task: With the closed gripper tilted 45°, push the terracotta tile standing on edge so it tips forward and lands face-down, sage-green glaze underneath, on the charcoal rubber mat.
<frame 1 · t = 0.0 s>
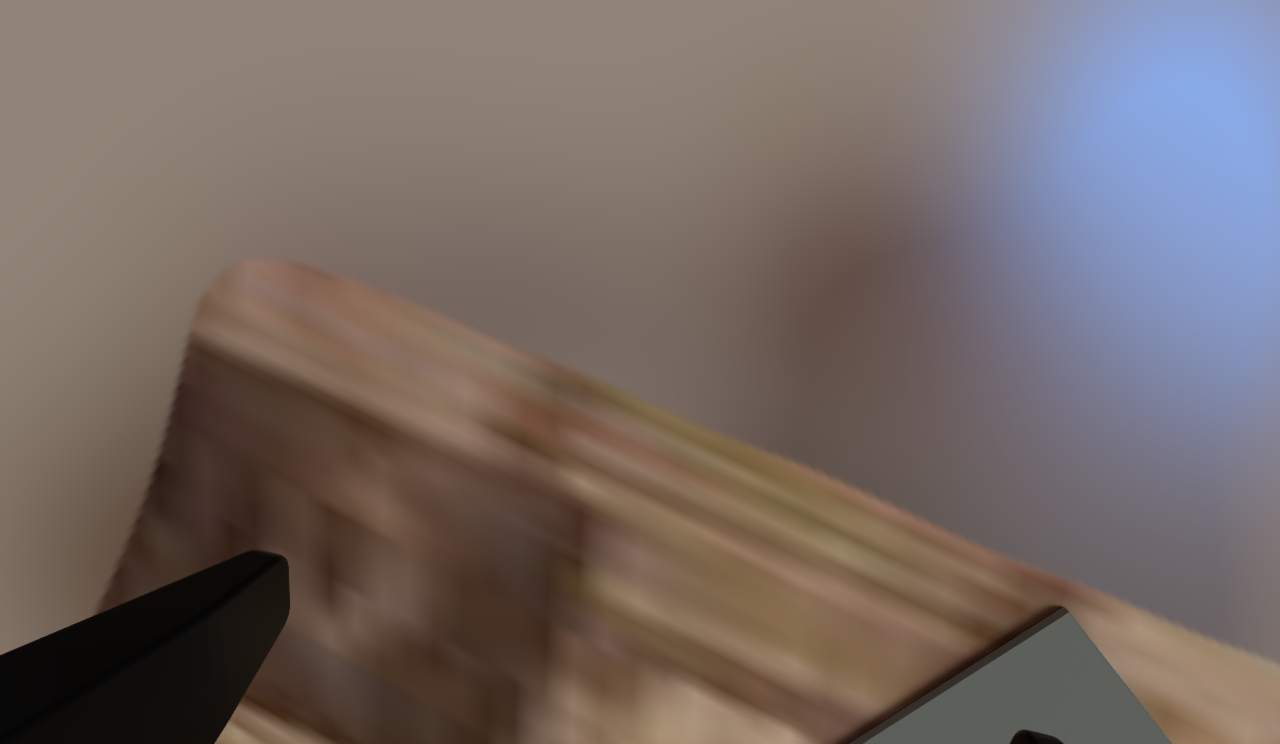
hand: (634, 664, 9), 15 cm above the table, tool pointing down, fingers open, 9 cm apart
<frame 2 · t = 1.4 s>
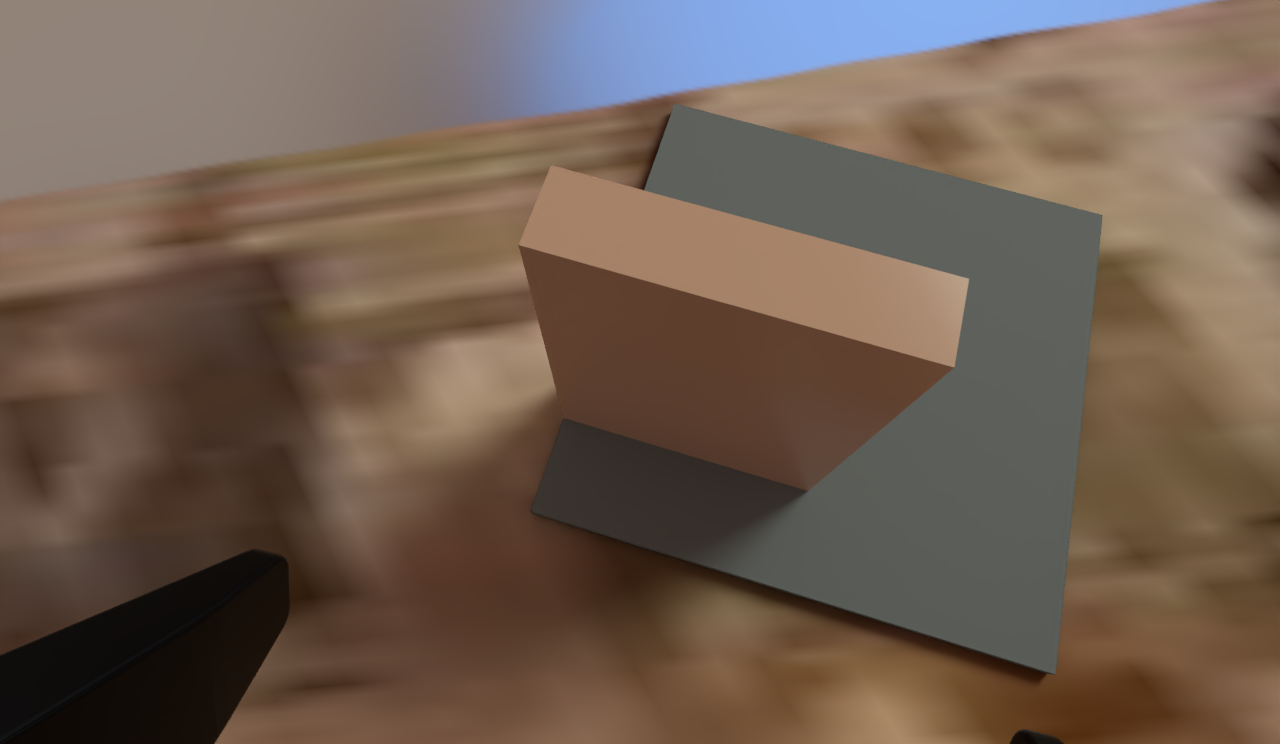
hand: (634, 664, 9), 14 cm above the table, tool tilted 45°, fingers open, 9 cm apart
tile: (691, 427, 24), resting on mat
mat: (836, 355, 25), on the table
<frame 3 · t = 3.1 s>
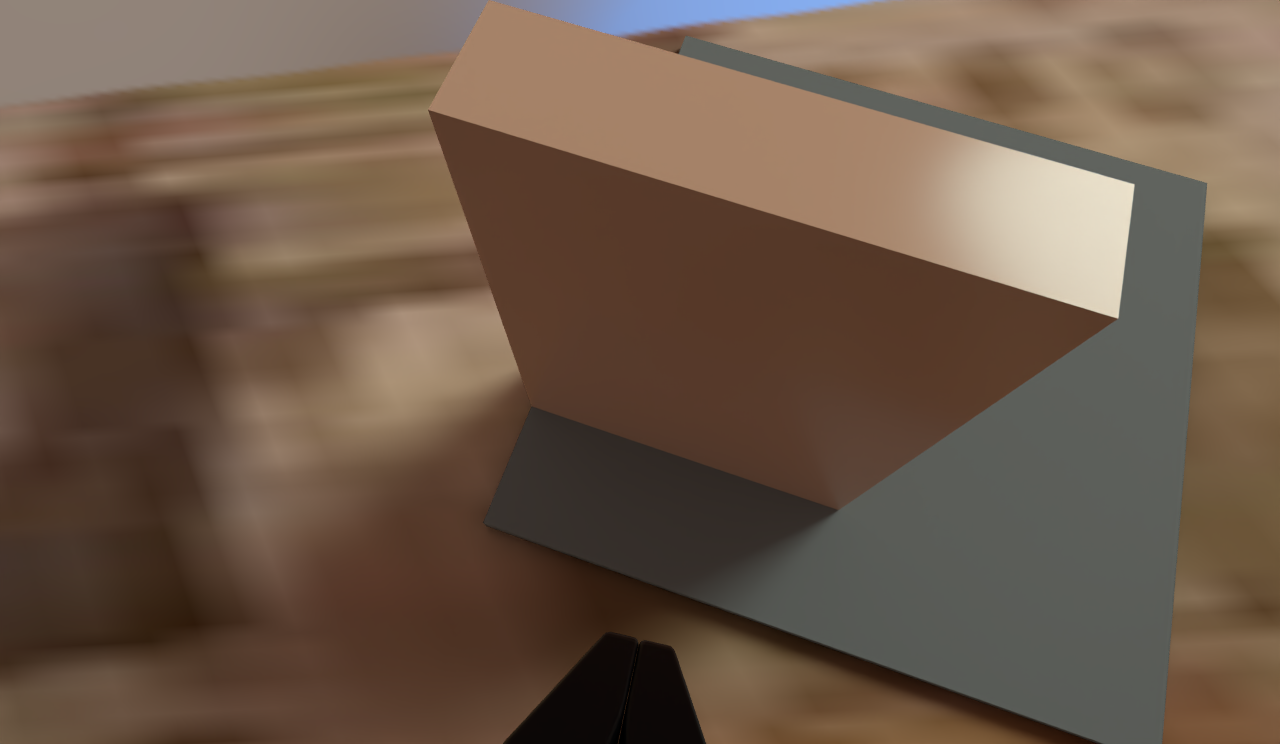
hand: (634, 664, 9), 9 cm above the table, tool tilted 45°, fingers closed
tile: (692, 424, 19), resting on mat
mat: (876, 341, 20), on the table
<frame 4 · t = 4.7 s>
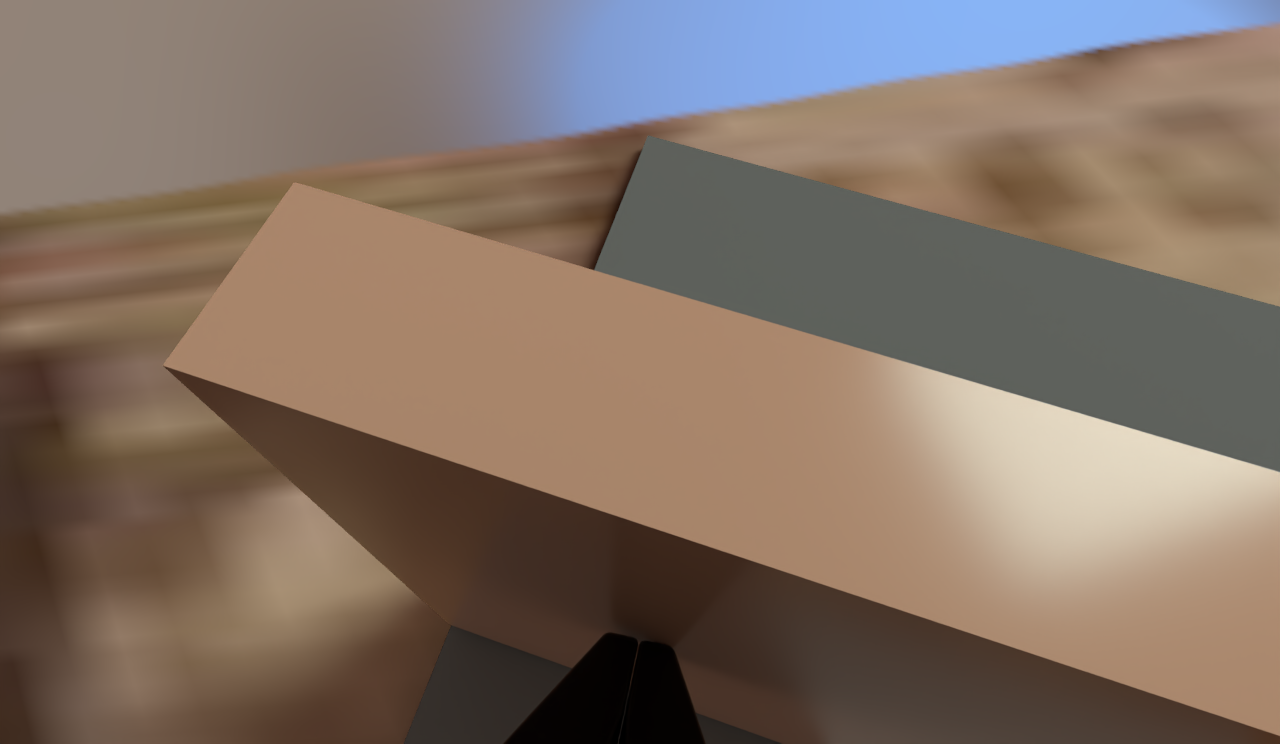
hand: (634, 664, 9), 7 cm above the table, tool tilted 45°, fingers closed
tile: (653, 645, 15), resting on mat, tilted 6°
mat: (882, 523, 16), on the table
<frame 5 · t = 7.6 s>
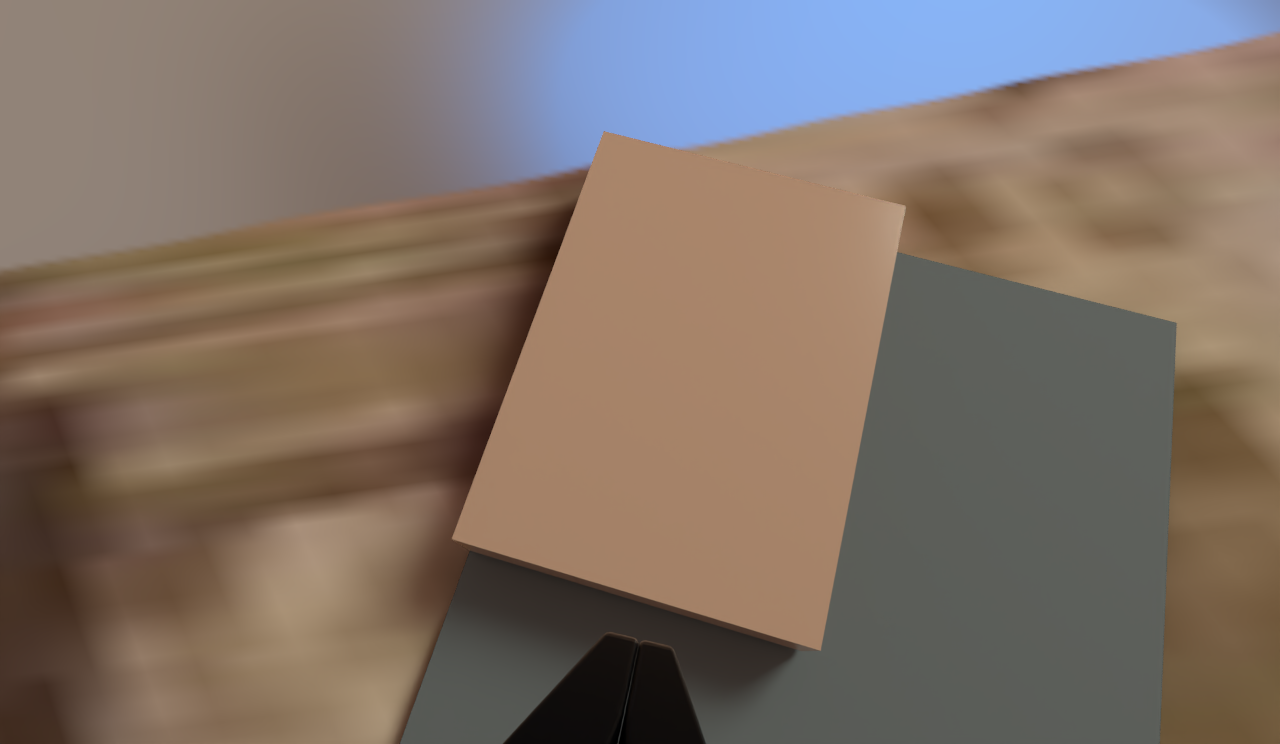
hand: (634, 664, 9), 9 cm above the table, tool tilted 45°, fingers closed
tile: (631, 596, 17), point 1 cm above the table, tilted 90°, touching mat
mat: (821, 530, 19), on the table
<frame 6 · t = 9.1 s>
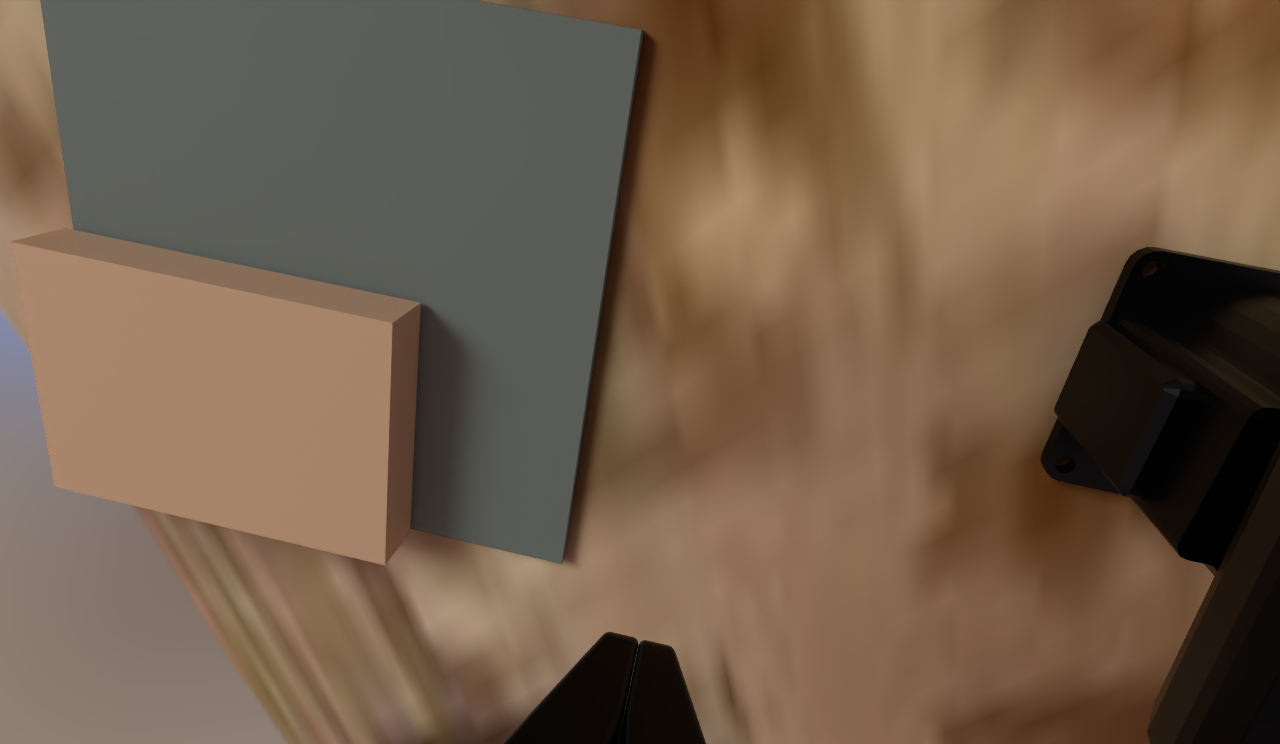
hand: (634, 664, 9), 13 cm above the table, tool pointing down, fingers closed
tile: (402, 438, 22), point 1 cm above the table, tilted 90°, touching mat
mat: (334, 277, 22), on the table
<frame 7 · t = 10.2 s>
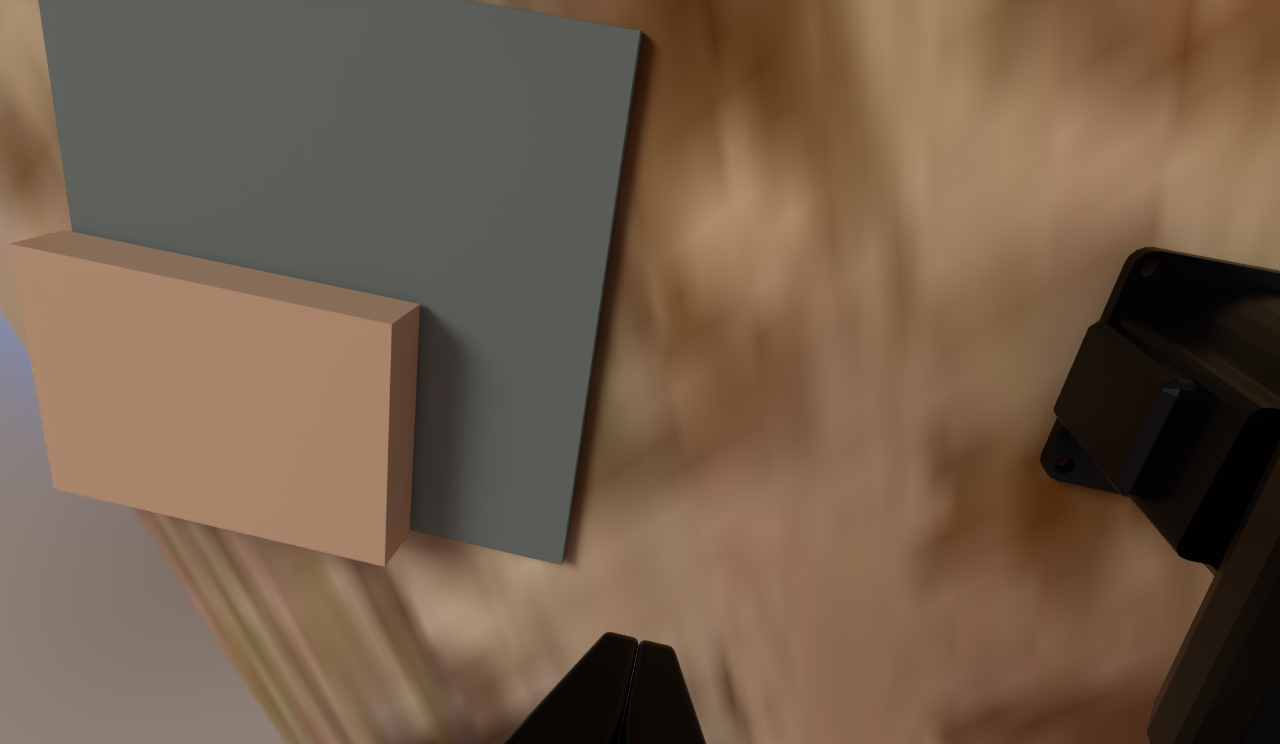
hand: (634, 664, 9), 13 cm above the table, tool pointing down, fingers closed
tile: (401, 439, 22), point 1 cm above the table, tilted 90°, touching mat
mat: (333, 278, 22), on the table
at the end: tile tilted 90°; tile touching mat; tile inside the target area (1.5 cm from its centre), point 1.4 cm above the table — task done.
